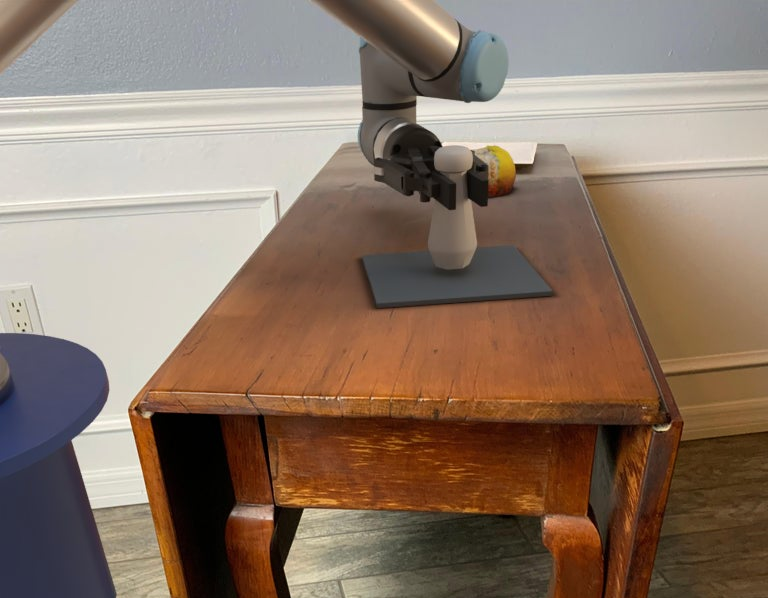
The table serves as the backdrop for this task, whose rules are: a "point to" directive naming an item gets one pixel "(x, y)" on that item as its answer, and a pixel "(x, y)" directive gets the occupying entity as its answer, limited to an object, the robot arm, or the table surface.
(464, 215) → the salt shaker
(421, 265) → the center mat
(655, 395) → the table surface
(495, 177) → the fruit
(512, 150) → the plate
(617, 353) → the table surface
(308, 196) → the table surface
